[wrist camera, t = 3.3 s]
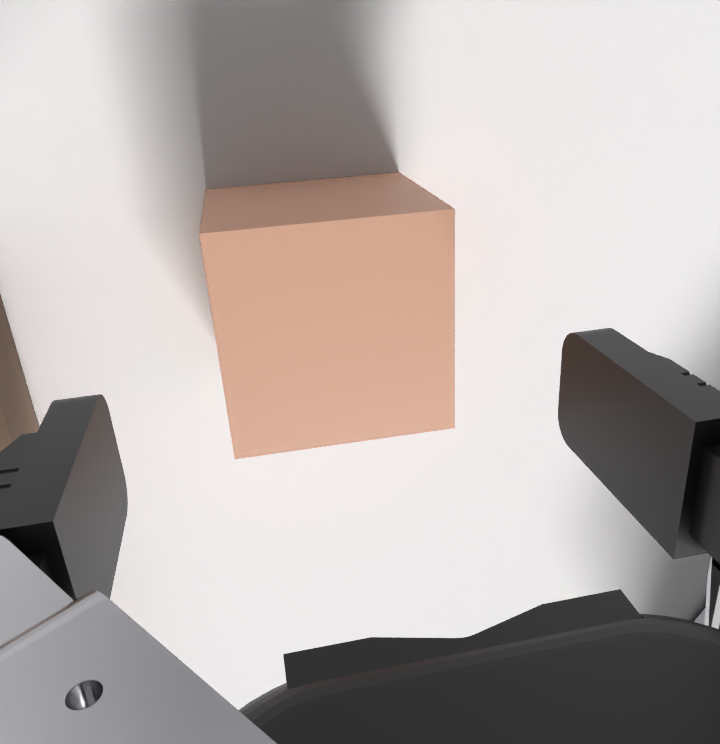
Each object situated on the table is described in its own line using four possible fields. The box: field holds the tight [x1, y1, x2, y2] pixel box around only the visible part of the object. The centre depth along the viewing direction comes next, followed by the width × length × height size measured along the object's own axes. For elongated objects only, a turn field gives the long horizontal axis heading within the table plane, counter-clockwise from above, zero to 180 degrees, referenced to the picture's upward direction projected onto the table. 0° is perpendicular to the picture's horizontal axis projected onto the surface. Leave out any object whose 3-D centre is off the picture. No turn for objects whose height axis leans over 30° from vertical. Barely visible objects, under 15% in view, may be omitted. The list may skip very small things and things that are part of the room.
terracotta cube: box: [199, 172, 455, 459], centre depth 17 cm, size 5×5×5 cm
